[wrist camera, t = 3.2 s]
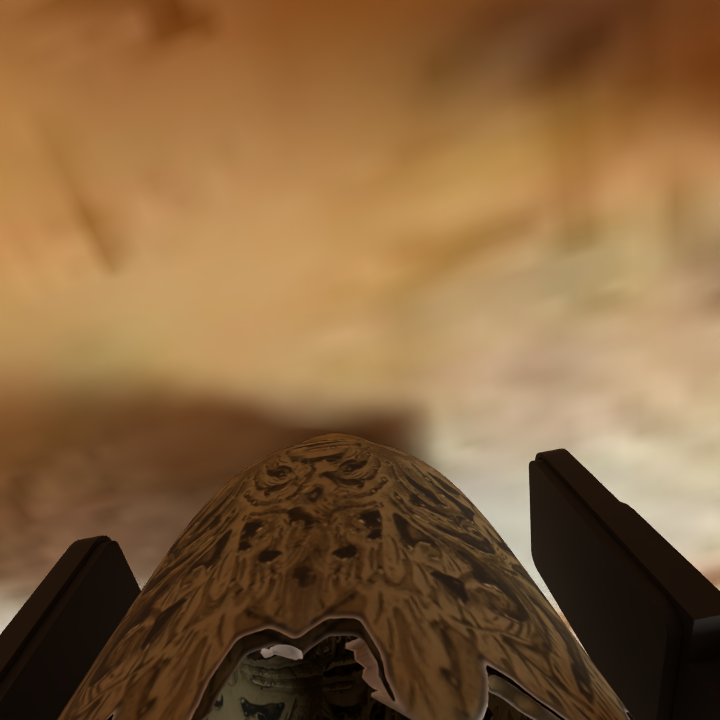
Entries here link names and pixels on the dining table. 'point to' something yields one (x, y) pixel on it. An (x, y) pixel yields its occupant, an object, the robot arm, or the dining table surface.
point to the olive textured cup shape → (342, 607)
